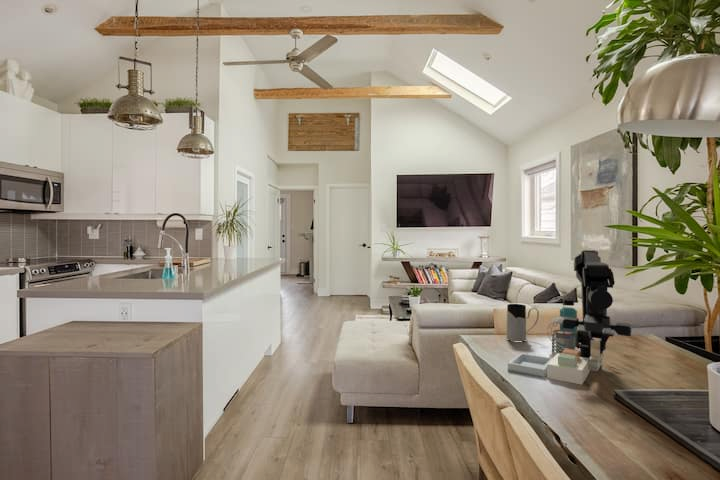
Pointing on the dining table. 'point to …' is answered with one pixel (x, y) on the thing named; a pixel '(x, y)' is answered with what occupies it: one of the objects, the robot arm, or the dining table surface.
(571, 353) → the terracotta tile
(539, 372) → the box
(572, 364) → the sage tile
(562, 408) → the dining table surface
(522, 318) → the glass holder
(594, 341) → the scraper
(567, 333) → the french press
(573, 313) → the beverage bottle
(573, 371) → the cream riser block
